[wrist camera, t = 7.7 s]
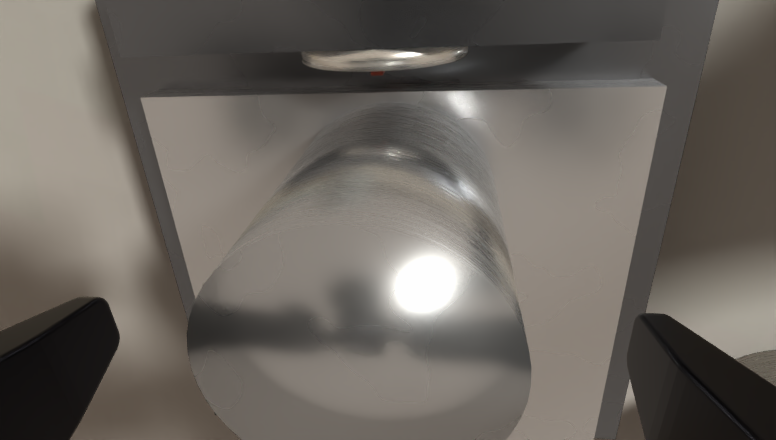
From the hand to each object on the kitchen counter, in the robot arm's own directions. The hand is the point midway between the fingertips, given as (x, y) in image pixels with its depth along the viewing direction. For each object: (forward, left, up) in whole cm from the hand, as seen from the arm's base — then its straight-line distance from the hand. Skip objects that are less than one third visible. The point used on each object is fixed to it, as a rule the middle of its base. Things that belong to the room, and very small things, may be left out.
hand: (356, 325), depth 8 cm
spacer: (0, 0, -5) cm, 5 cm away
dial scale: (0, +1, -8) cm, 8 cm away
